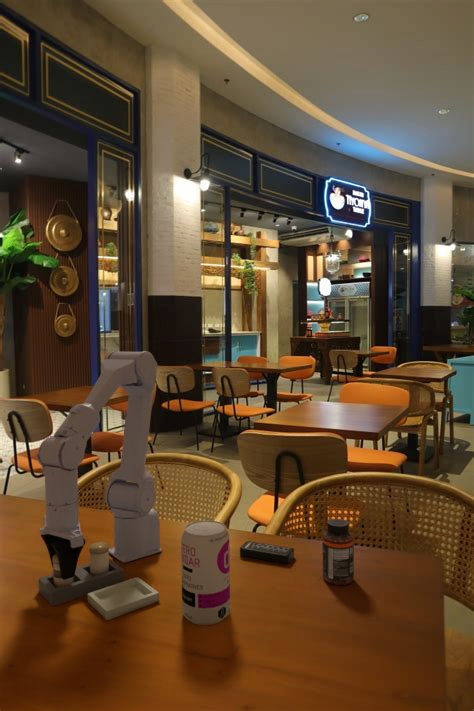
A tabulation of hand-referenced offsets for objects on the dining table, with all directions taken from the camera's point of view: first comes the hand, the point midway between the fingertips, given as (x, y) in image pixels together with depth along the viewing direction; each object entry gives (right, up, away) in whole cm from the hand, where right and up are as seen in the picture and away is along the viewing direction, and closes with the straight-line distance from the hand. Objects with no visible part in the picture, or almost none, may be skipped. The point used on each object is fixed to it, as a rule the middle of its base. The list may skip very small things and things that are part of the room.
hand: (63, 573), depth 99 cm
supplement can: (+27, -4, -8) cm, 28 cm away
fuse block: (+3, -4, +2) cm, 5 cm away
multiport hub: (+39, -3, +15) cm, 42 cm away
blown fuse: (0, -4, 0) cm, 4 cm away
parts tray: (+12, -4, -3) cm, 13 cm away
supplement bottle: (+52, -3, +4) cm, 52 cm away
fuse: (+5, -3, +5) cm, 8 cm away
